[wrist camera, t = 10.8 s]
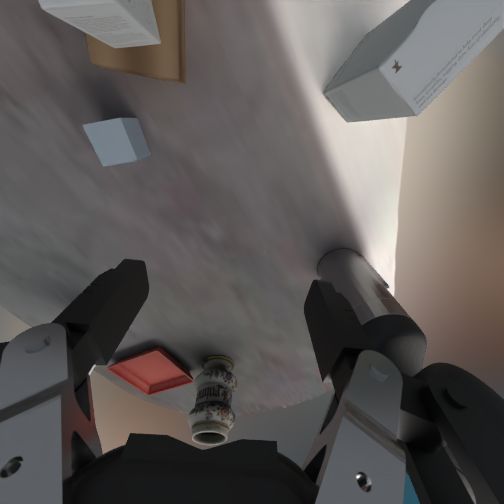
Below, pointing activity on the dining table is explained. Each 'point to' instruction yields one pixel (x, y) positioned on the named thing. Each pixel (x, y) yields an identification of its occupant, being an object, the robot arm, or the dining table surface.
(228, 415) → the apothecary jar
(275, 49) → the dining table surface
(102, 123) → the blue-grey cube
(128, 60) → the walnut slab
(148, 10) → the small box
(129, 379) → the plant saucer
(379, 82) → the skincare box
